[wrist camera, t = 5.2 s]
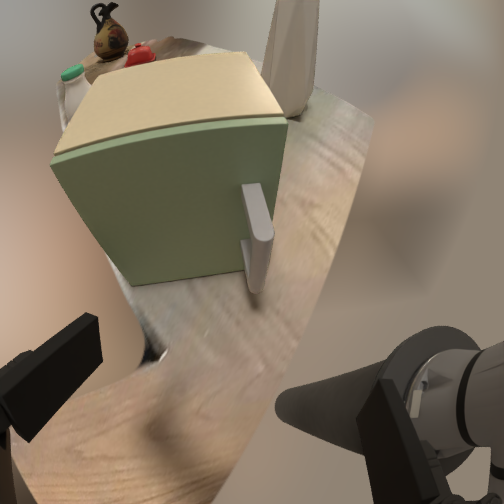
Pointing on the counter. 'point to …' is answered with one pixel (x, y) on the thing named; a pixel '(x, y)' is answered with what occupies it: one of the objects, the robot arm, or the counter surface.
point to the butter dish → (139, 56)
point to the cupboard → (169, 98)
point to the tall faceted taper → (292, 54)
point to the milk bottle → (74, 88)
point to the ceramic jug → (109, 34)
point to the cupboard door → (181, 198)
